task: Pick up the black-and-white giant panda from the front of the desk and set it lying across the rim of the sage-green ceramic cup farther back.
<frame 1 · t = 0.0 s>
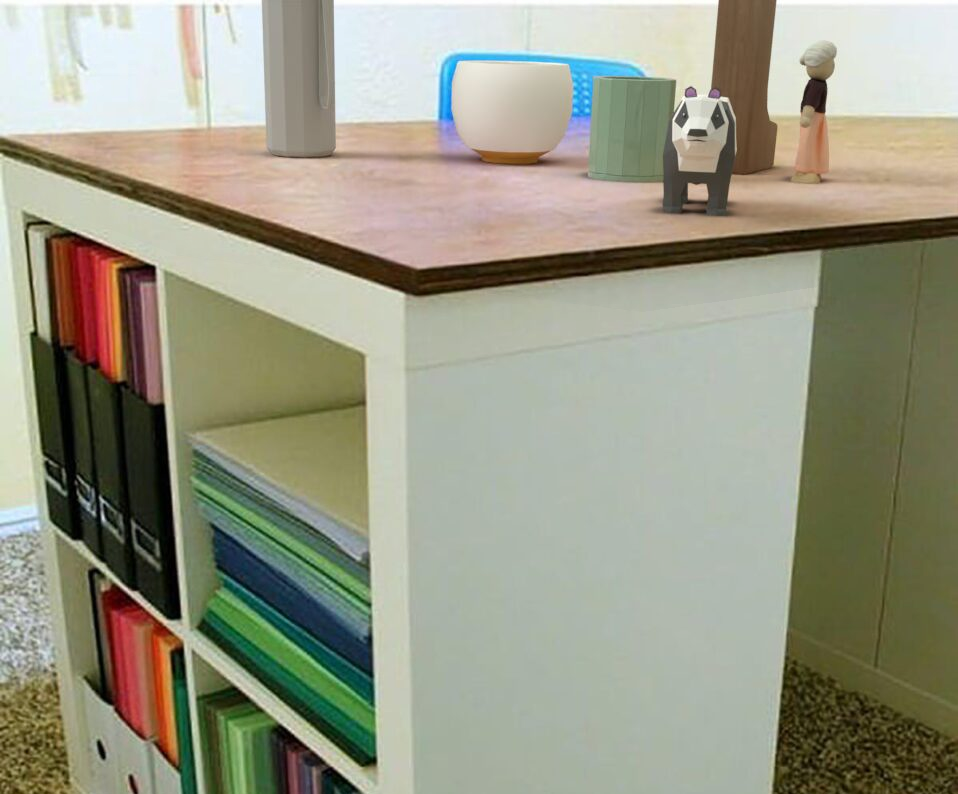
water bottle: (306, 158, 134), on the table
grandmother figurine: (806, 182, 124), on the table
green cup: (627, 178, 123), on the table
cup: (510, 163, 134), on the table
giant panda: (694, 213, 103), on the table
wooden block: (738, 172, 132), on the table
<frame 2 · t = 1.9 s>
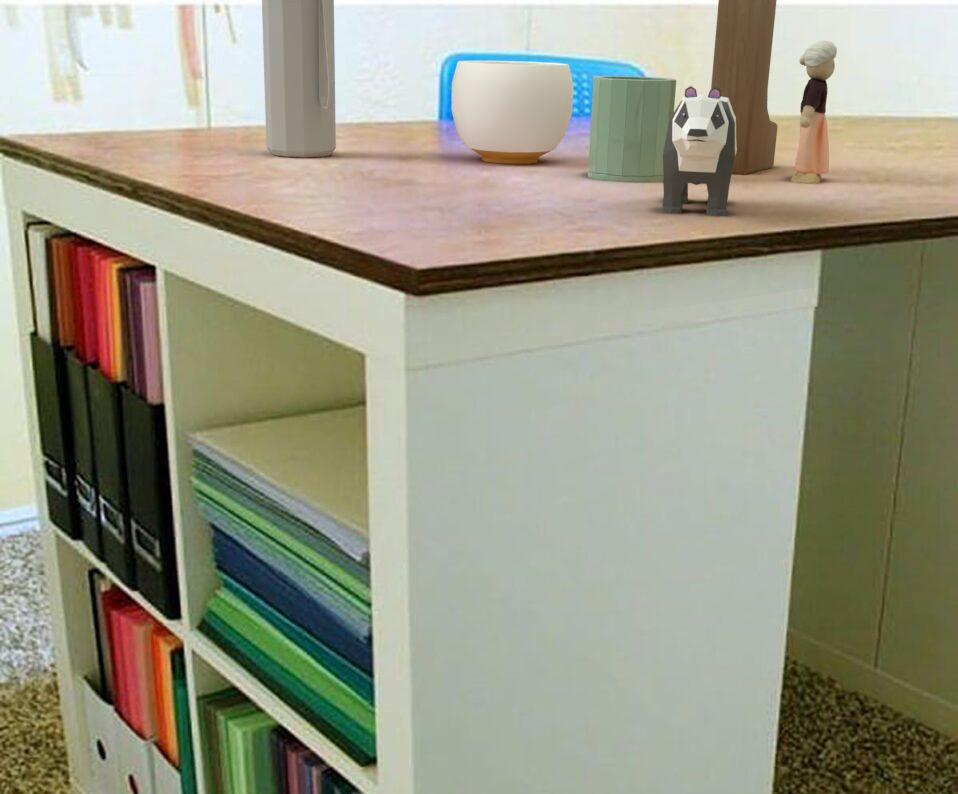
nothing on the table moved.
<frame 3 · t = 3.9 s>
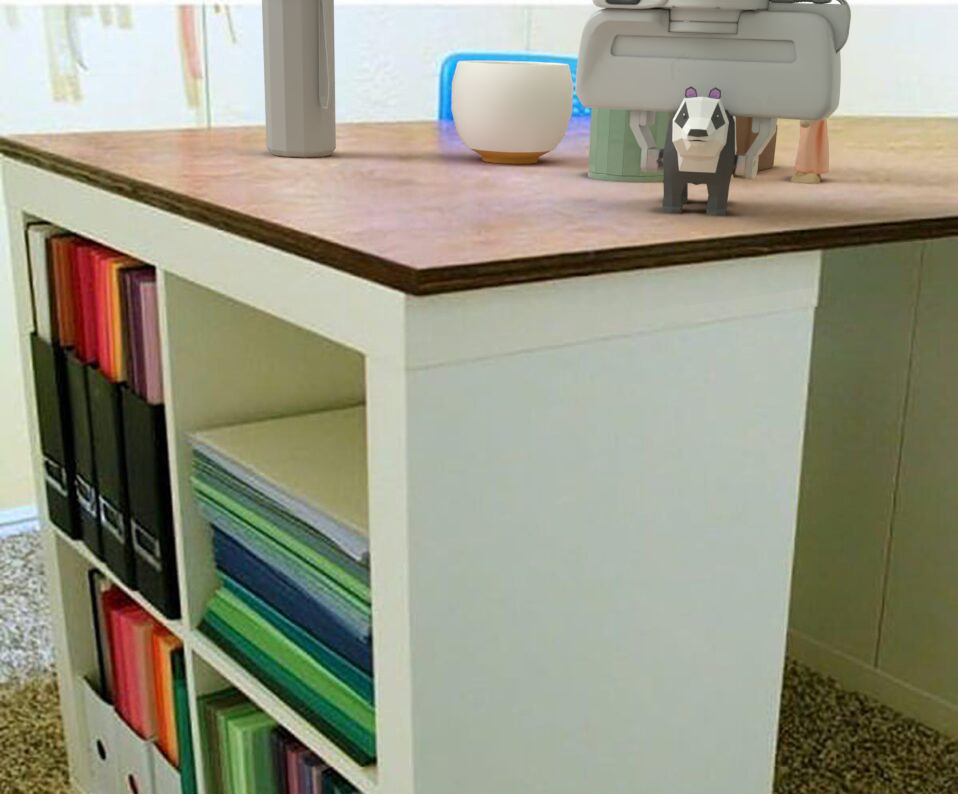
hand: (697, 174, 102), 3 cm above the table, tool pointing down, fingers closed on giant panda, 6 cm apart
giant panda: (694, 213, 103), on the table, touching gripper
everything else where it was.
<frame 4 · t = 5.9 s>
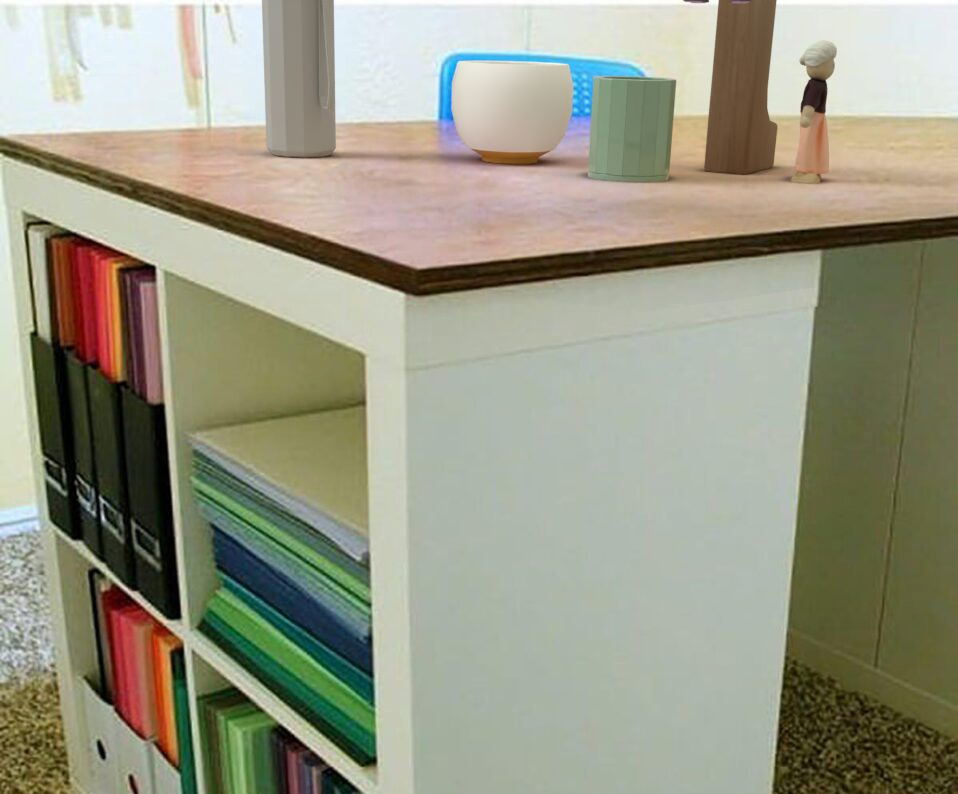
giant panda: (717, 5, 97), point 15 cm above the table, touching gripper
everything else where it was.
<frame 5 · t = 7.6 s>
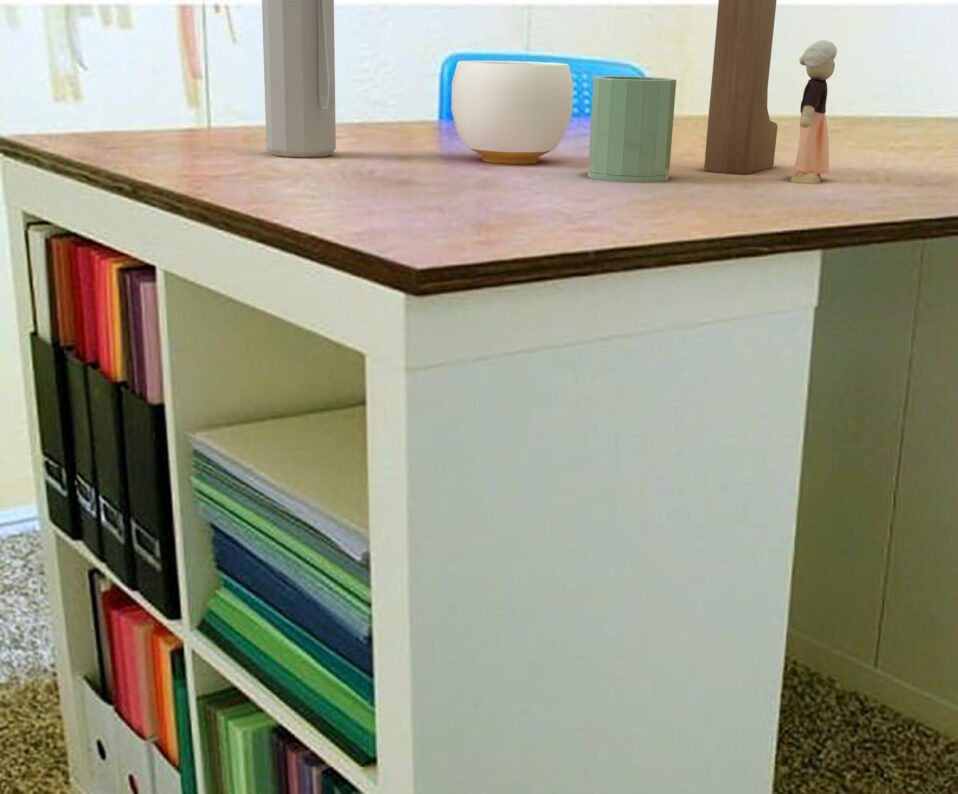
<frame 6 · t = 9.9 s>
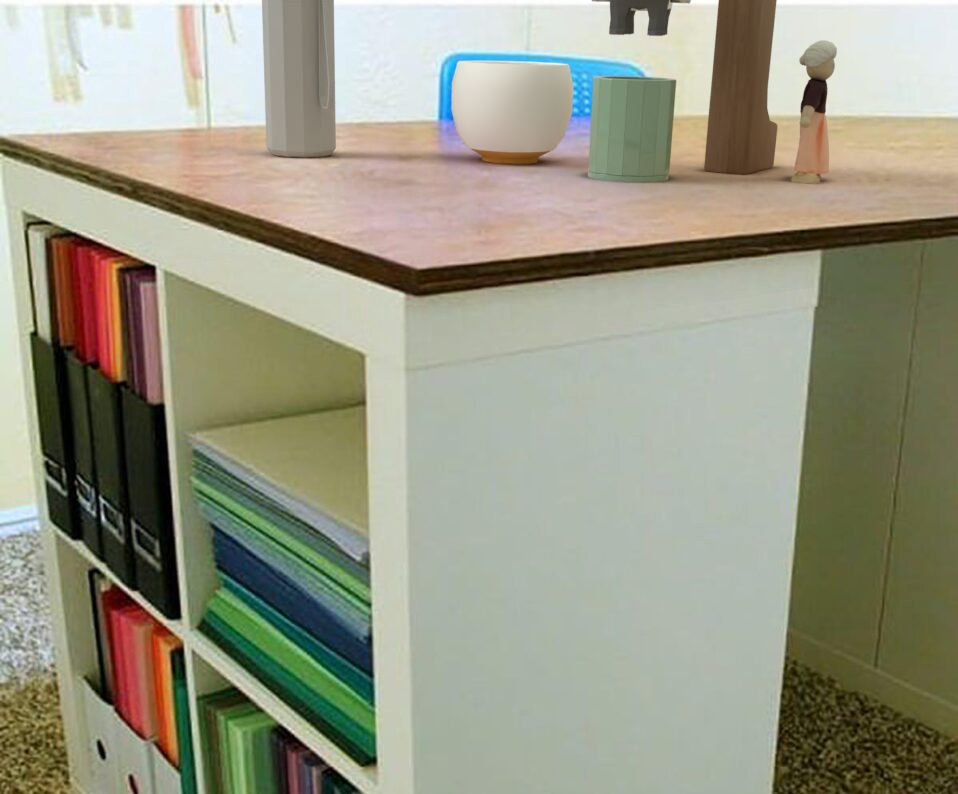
hand: (639, 2, 117), 15 cm above the table, tool pointing down, fingers closed on giant panda, 6 cm apart
giant panda: (638, 37, 118), point 13 cm above the table, touching gripper
everything else where it was.
when the fingers open (12 cm above the table, at t = 11.5 s): giant panda stays where it is, resting on green cup.
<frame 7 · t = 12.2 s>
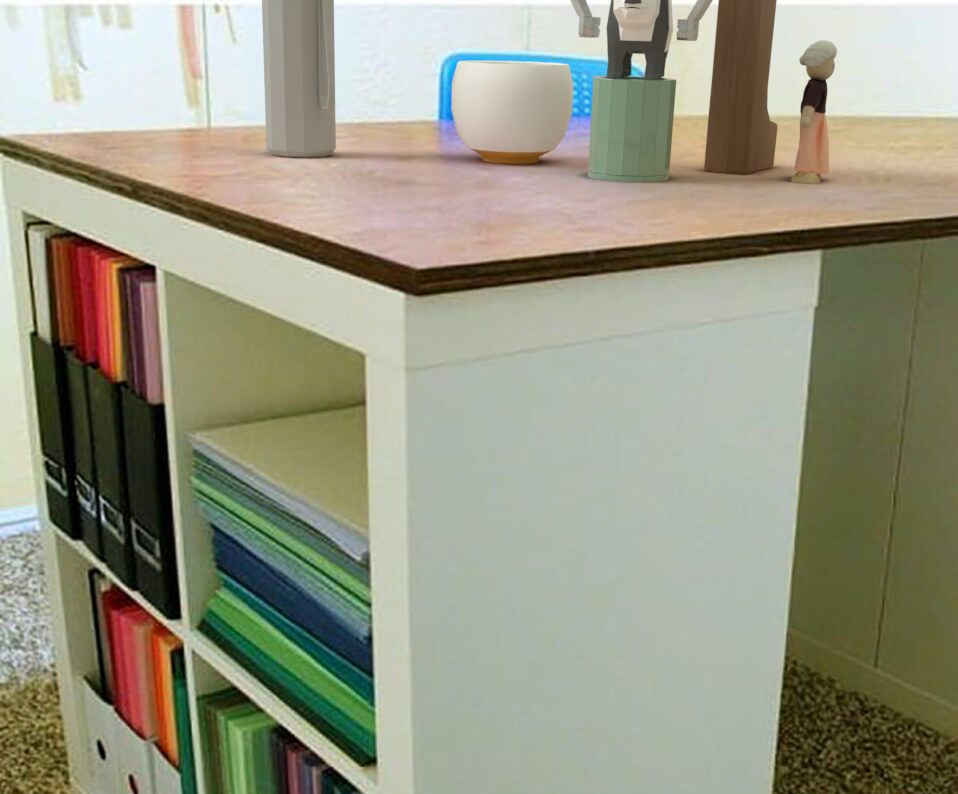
hand: (637, 39, 118), 12 cm above the table, tool pointing down, fingers open, 8 cm apart
giant panda: (635, 80, 119), point 9 cm above the table, touching green cup
everything else where it was.
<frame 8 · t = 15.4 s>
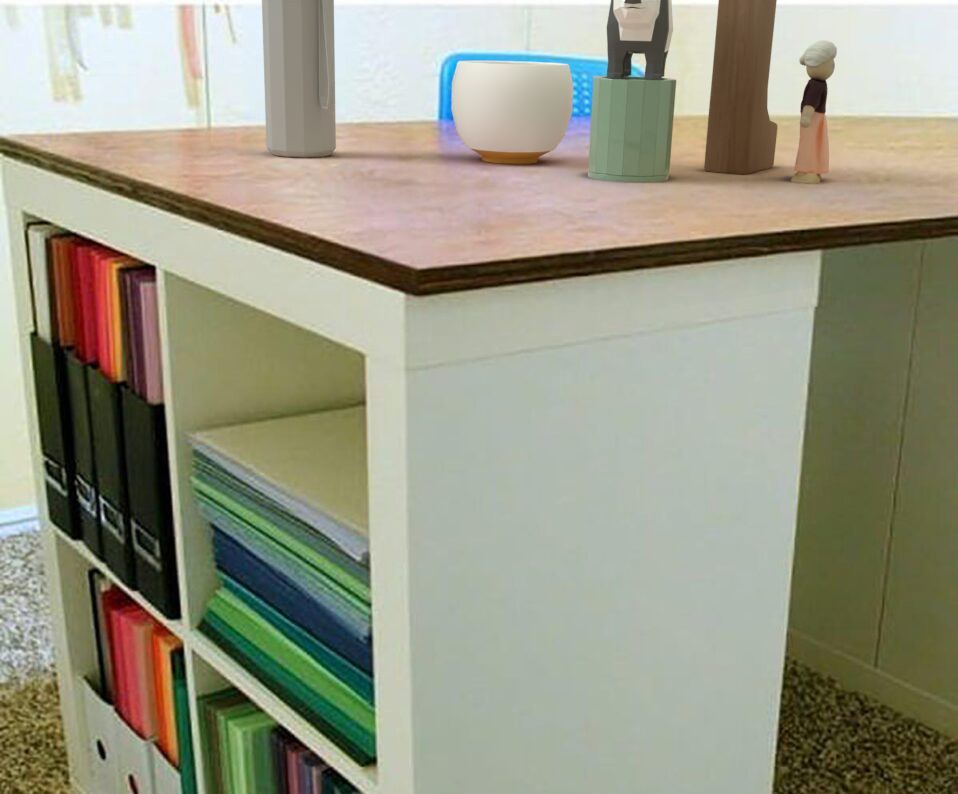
nothing on the table moved.
at the end: giant panda 0.1 cm off-centre on the green cup, point 8.8 cm above the green cup's base; the gripper is holding nothing; giant panda tilted 0° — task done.
